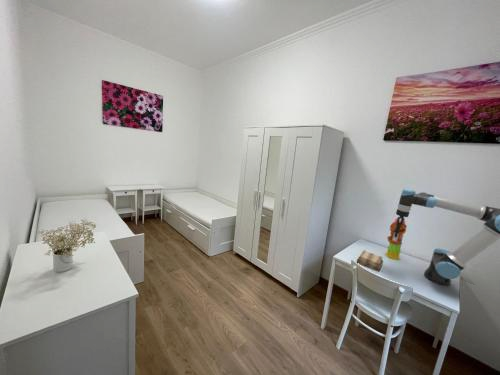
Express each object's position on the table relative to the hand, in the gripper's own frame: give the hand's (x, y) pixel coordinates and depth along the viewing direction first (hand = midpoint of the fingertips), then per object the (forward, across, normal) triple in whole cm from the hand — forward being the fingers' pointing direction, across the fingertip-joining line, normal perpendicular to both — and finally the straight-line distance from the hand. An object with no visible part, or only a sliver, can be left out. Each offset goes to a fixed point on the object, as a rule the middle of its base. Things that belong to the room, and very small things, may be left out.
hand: (395, 238), depth 160 cm
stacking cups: (+26, -30, +1) cm, 40 cm away
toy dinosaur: (+4, 0, 0) cm, 4 cm away
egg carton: (+27, 0, -12) cm, 29 cm away
